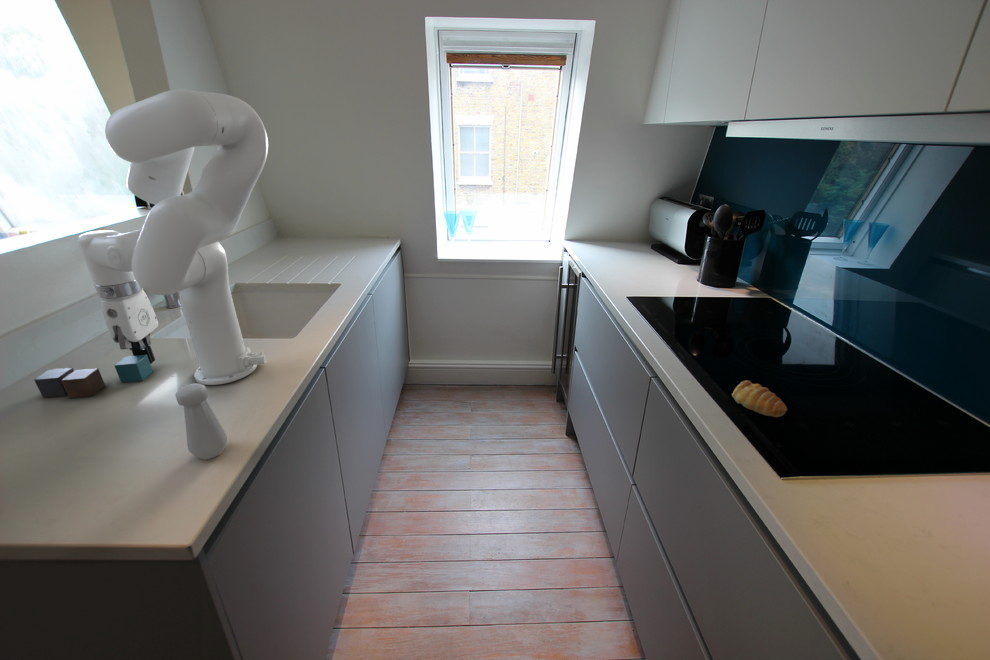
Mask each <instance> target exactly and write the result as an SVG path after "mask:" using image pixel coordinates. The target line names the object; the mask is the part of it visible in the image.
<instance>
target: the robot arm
mask: <svg viewBox="0 0 990 660" xmlns="http://www.w3.org/2000/svg"><path fill="white" fill-rule="evenodd" d="M104 134H105V139H106V142H107V144H108V146H109V148H110V149H111V151H112V152H113V153H114V154H115V155H116V156H117V157H119V158H120V159H122V160H123V161H126V162H129V163H130V165H129V168H128V173H127V176H126V183H125V184H126V187H127V189H128V191H130V192H131V194H133V195H134V196H135V197H137V198H139V199H141V200H142V201H144V202H146V203H148V204H152V205H153V206H152V207H151V208H150V210H149V212H148V213H147V216H146V218H145V220H144V223H143V225H142V228H140V229H135V230H132V231H129V232H125V233H121V232H119V231H117V230H110V229H109V230H106V229H105V230H93V231H88V232H85V233H82V234H80V235H79V236H78V238H77V245H78V246H79V249H80V252H81V255H82V258H83V260H84V263H85V265H86V267H87V270H88V274H89V275H90V278H91V280H92V283H93V286H94V288H95V291H96V293H97V295H98V298H99V300H100V304H101V305H100V306H101V310H102V314H103V318H104V322H105V325H106V328H107V331H108V333H109V336H110V337H111V340H112V341H113V342H114V343H116V344H119V349H120V350H129V351H131V353H132V356H137V355H147V356H148V359H149V362H150V364H151V365H152V363H154V362H155V361H156V358H155V355H154V352H153V349H152V347H151V344H152V341H151V337H150V336H151V334H152V332H154V331H155V330H157V328H158V327H159V320H158V318H157V315H156V313H155V310H154V308H153V305H152V303H151V301H150V299H149V297H148V295H147V294H146V292H148V293H151V294H153V295H157V296H169V295H173V294H176V293H179V303H180V307H181V311H182V314H183V318H184V321H185V324H186V327H187V331H188V334H189V336H190V340H191V343H192V346H193V349H194V352H195V355H196V359H197V362H198V364H199V367H198V368H196V370H195V371H194V374H193V376H194V379H195V382H197V383H199V384H202V385H204V386H206V385H207V386H217V385H219V386H220V385H224V384H230V383H233V382H236V381H239V380H242V379H244V378H246V377H247V376H249V375H250V374H252V373H253V372H254V371H255V370H256V369H257V368H258V365H266V364H267V363H268V359H267V356H266V355H265V353H264V352H256V353H255V352H252V351H251V347H250V346H245V342H244V338H243V334H242V330H241V326H240V323H239V319H238V315H237V311H236V308H235V304H234V300H233V295H232V291H231V288H230V286H231V285H230V279H229V263H228V257H227V254H226V250H225V248H224V247H223V246H222V244H221V243H220V242H221V241H223V240H226V239H227V238H230V236H232V234H234V232H235V230H236V229H237V226H238V225H239V221H240V219H241V218H242V215H243V212H244V210H245V208H246V206H247V204H248V202H249V199H250V197H251V194H252V192H253V190H254V188H255V185H257V182H258V180H259V178H260V176H261V174H262V172H263V169H264V167H265V164H266V162H267V158H268V155H269V154H268V153H269V139H268V134H267V131H266V127H265V125H264V123H263V121H262V119H261V117H260V116H259V113H257V112H256V110H255V109H254V108H253V107H252V106H251V105H250V104H248V102H245V101H244V100H243V99H242V98H241V99H240V98H239V97H236V96H234V95H230V94H225V93H220V92H219V93H218V92H211V91H200V90H192V89H170V90H166V91H163V92H160V93H157V94H155V95H152V96H149V97H147V98H145V99H142V100H140V101H137V102H134V103H130V104H128V105H126V106H123V107H121V108H119V109H117V110H115V111H114V112H113V113H112V114H110V116H109V117H108V119H107V121H106V123H105V128H104ZM211 146H212V147H213V146H214V147H215V146H218V147H217V149H216V151H215V152H214V153H213V154H212V155H211V156H210V157H209V159H208V160H207V161H206V163H205V164H204V166H203V167H202V170H201V173H200V176H199V178H198V179H197V182H196V185H195V186H194V188H193V189H192V191H190V192H188V193H186V194H182V192H183V190H184V186H185V182H186V179H187V176H188V172H189V169H190V165H191V162H192V159H193V155H194V152H195V148H196V147H211ZM145 291H146V292H145Z"/></svg>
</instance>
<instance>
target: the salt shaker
mask: <svg viewBox="0 0 990 660" xmlns="http://www.w3.org/2000/svg"><path fill="white" fill-rule="evenodd" d="M208 397H209V392H208V389H207V386H206V385H205V384H201V383H198V382H197V383H190V384H186V385H184V386H182V387H180V388H179V389H178V390H177V391H176V393H175V399H176V402H177V404H178V405H179V406H181V407H183V412H184V423H185V432H186V434H185V435H186V447H187V450H188V452H189V453H191V454H192V455H193V456H194V457H196V458H197V459H198V460H205V461H209V460H211V459H214V458H216V457H219V456H220V455H221V454H222V453H223V452H224V451H225V449H226V447H227V446H226V445H227V441H228V435H227V433H226V431H225V429H224V428H223V426H222V425H221V423H220V421H219V420H218V418H217V416H216V415H215V413H214V410H213V409H212V407H211V406H210V404H209V403H208V400H207V398H208Z"/></svg>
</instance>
